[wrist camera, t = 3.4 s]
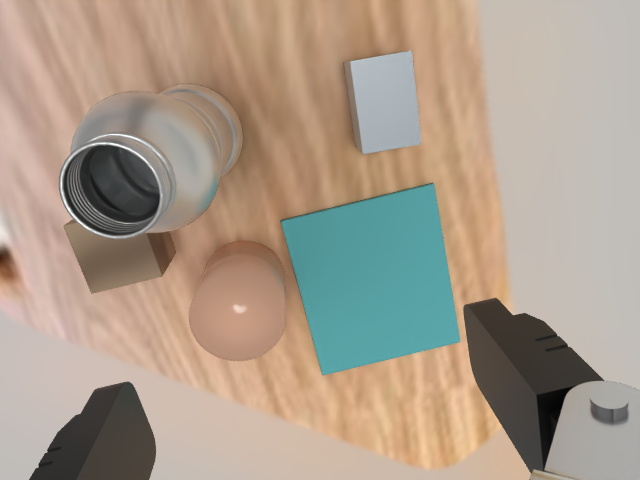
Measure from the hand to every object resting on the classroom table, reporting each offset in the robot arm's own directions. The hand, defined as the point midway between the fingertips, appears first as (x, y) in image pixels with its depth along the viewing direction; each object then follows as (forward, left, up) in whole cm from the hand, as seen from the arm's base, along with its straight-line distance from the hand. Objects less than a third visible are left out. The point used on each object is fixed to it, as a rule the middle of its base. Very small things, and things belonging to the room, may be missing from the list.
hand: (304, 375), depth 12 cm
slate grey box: (-3, +7, -28) cm, 29 cm away
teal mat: (+11, +4, -28) cm, 30 cm away
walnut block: (+2, -13, -28) cm, 31 cm away
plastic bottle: (-4, -6, -28) cm, 29 cm away
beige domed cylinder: (+8, -6, -28) cm, 29 cm away
